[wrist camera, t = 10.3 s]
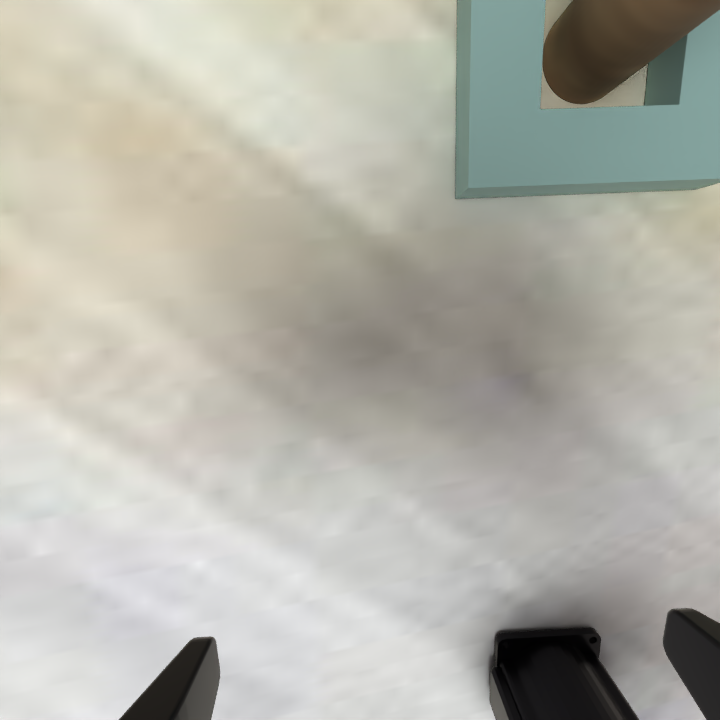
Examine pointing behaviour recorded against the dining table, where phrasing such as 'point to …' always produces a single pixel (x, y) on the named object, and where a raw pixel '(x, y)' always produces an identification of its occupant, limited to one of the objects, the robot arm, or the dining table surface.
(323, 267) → the dining table surface
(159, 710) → the robot arm
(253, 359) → the dining table surface
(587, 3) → the dowel
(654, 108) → the square ring
